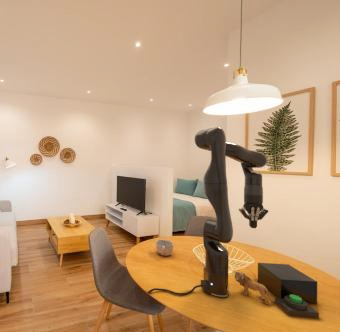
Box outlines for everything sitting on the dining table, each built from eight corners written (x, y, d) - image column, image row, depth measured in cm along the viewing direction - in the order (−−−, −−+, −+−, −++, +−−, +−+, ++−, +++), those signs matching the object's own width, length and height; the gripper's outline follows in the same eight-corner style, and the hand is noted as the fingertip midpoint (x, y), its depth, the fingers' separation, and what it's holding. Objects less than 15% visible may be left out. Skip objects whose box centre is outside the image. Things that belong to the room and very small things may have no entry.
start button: (294, 303, 84) (294, 299, 84) (287, 298, 88) (287, 294, 88) (304, 304, 84) (304, 300, 84) (296, 299, 87) (297, 294, 87)
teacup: (159, 249, 147) (159, 237, 147) (175, 253, 141) (175, 241, 141) (152, 256, 136) (152, 244, 136) (169, 261, 130) (169, 247, 130)
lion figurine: (232, 291, 99) (232, 272, 99) (236, 287, 102) (236, 268, 102) (273, 307, 87) (274, 286, 87) (276, 302, 91) (276, 281, 91)
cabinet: (257, 281, 107) (257, 262, 107) (288, 283, 105) (288, 264, 105) (280, 301, 91) (281, 279, 91) (317, 304, 89) (317, 281, 89)
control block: (289, 315, 83) (289, 305, 83) (274, 302, 91) (274, 293, 90) (318, 318, 81) (318, 308, 81) (301, 304, 89) (301, 295, 89)
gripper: (262, 192, 109) (262, 226, 110) (234, 192, 111) (234, 225, 112) (273, 194, 102) (273, 230, 102) (243, 194, 104) (242, 229, 104)
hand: (253, 227), depth 107 cm, fingers closed
